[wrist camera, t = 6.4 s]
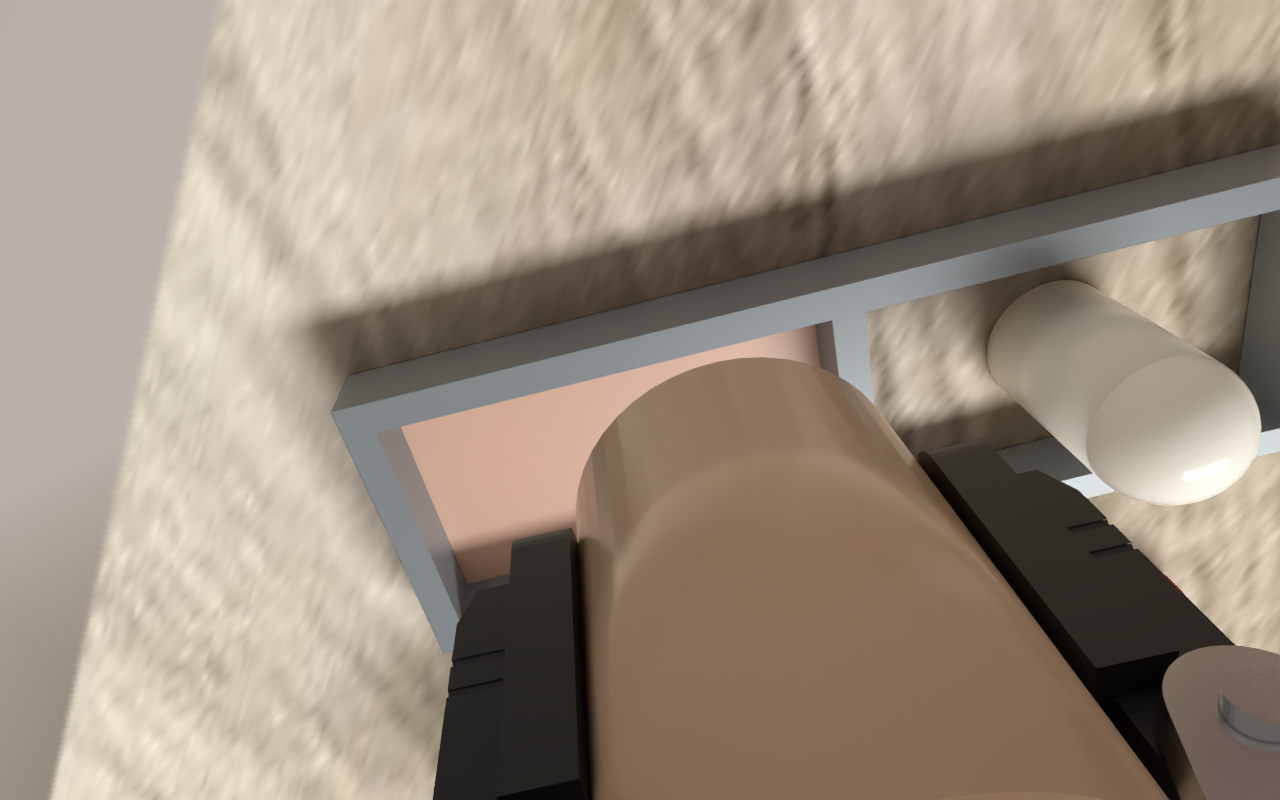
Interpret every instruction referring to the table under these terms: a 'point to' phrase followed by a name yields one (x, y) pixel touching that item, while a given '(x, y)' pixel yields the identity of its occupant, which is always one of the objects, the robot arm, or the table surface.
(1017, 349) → the white capsule
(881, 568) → the beige capsule
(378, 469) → the divided rectangular frame
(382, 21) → the table surface
